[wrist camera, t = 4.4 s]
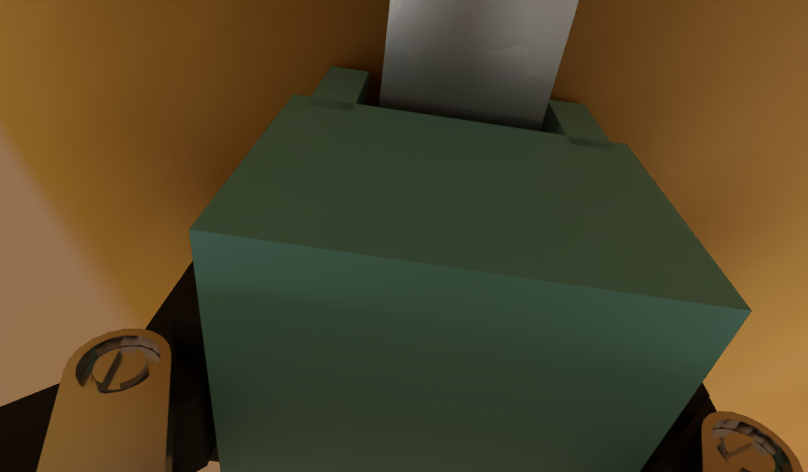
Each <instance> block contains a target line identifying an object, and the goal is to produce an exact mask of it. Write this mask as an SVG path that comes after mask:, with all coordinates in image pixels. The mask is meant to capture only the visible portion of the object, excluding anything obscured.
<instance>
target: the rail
mask: <svg viewBox="0 0 808 472" xmlns="http://www.w3.org/2000/svg"><path fill="white" fill-rule="evenodd" d="M578 2H579V0H390V6H389V15H388V25H387V34H386V43H385V53H384V62H383V72H382V81H381V91H380V100H379V107H380V108H387V109H394V110H400V111H407V112H414V113H420V114H427V115H434V116H440V117H447V118H454V119H460V120H467V121H474V122H480V123H487V124H494V125H500V126H507V127H514V128H520V129H527V130H534V131H540V129H541V126H542V122H543V119H544V116H545V112H546V109H547V106H548V102H549V99H550V96H551V92H552V89H553V86H554V82H555V79H556V76H557V72H558V69H559V65H560V62H561V59H562V55H563V52H564V49H565V45H566V42H567V39H568V35H569V32H570V29H571V25H572V22H573V19H574V15H575V12H576V9H577V5H578Z"/></svg>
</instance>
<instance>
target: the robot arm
mask: <svg viewBox="0 0 808 472" xmlns="http://www.w3.org/2000/svg"><path fill="white" fill-rule="evenodd" d="M209 461H217V462H219V456H218V448H217V441H216V433H215V425H214V418H213V410H212V402H211V395H210V387H209V379H208V372H207V364H206V356H205V348H204V341H203V333H202V325H201V318H200V310H199V302H198V295H197V287H196V279H195V272H194V264H193V261H192V263H191V264H190V265H189V267H188V268H187V270H186V271H185V273H184V274H183V275H182V277H181V278H180V280H179V281H178V283H177V284H176V286H175V287H174V288H173V290H172V291H171V293H170V294H169V296H168V297H167V298H166V300H165V301H164V303H163V304H162V306H161V307H160V308H159V310H158V311H157V313H156V314H155V316H154V317H153V318H152V320H151V321H150V323H149V324H148V326H147V327H146V328H145V330H144V329H121V330H117V331H112V332H108V333H106V334H103V335H101V336H98V337H96V338H93V339H92V340H90V341H89V342H87V343H86V344H85V345H83V346H81V347H80V348H79V349H78V350H77V351H76V352H75V353H74V354H73V355H72V356H71V357H70V358H69V360H68V362H67V364H66V366H65V368H64V370H63V374H62V378H61V381H60V383H59V384H56V385H54V386H51V387H49V388H46V389H44V390H41V391H39V392H36V393H34V394H31V395H29V396H26V397H24V398H21V399H19V400H16V401H14V402H11V403H9V404H6V405H4V406H1V407H0V472H197V471H198V470H200V469H202V468H204V467H206V466H207V464H208V462H209ZM640 472H803V470H802V467H801V465H800V462H799V460H798V459H797V457H796V456H795V454H794V453H793V452H792V450H791V449H790V447H789V446H788V445H787V444H786V443H785V442H784V441H783V440H782V439H781V438H779V437H778V436H777V435H776V434H775V433H774V432H772V431H771V430H769V429H768V428H767V427H765V426H764V425H762V424H761V423H759V422H757V421H755V420H753V419H751V418H749V417H747V416H744V415H740V414H737V413H734V412H725V411H718V412H717V411H716V409H715V407H714V405H713V403H712V402H711V400H710V398H709V394H708V392H707V390H706V388H705V386H704V384H703V383H701V384H700V386H699V387H698V389H697V390H696V392H695V393H694V395H693V396H692V397H691V399H690V400H689V402H688V403H687V405H686V406H685V407H684V409H683V410H682V412H681V413H680V415H679V416H678V417H677V419H676V420H675V422H674V423H673V425H672V426H671V428H670V429H669V430H668V432H667V433H666V435H665V436H664V438H663V439H662V440H661V442H660V443H659V445H658V446H657V448H656V449H655V450H654V452H653V453H652V455H651V456H650V458H649V459H648V461H647V462H646V463H645V465H644V466H643V468H642V469H641V471H640Z"/></svg>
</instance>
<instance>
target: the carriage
mask: <svg viewBox="0 0 808 472" xmlns="http://www.w3.org/2000/svg"><path fill="white" fill-rule="evenodd" d="M368 78H369V72H367V71H360V70H354V69H347V68H341V67H334V66H331V67H330V69H329V70H328V72H327V73H326V75H325V76H324V78H323V79H322V81H321V82H320V83H319V85H318V86H317V88H316V89H315V91H314V92H313V94H312V95H311V97H307V96H301V95H294V94H293V96H292V97H291V98H290V100H289V101H288V102H287V103H286V105H285V106H284V107H283V109H282V110H281V111H280V113H279V114H278V115H277V116H276V118H275V119H274V120H273V122H272V123H271V124H270V125H269V127H268V128H267V129H266V131H265V132H264V133H263V135H262V136H261V137H260V138H259V140H258V141H257V142H256V144H255V145H254V146H253V147H252V149H251V150H250V151H249V153H248V154H247V155H246V156H245V158H244V159H243V160H242V162H241V163H240V164H239V166H238V167H237V168H236V169H235V171H234V172H233V173H232V175H231V176H230V177H229V178H228V180H227V181H226V182H225V184H224V185H223V186H222V188H221V189H220V190H219V191H218V193H217V194H216V195H215V197H214V198H213V199H212V200H211V202H210V203H209V204H208V206H207V207H206V208H205V209H204V211H203V212H202V213H201V215H200V216H199V217H198V219H197V220H196V221H195V222H194V224H193V225H192V226H191V228H190V229H189V233H190V241H191V249H192V256H193V264H194V272H195V279H196V287H197V295H198V302H199V310H200V318H201V325H202V333H203V341H204V348H205V356H206V364H207V372H208V379H209V387H210V395H211V402H212V410H213V418H214V425H215V433H216V441H217V448H218V456H219V464H220V471H221V472H640V471H641V469H642V468H643V466H644V465H645V463H646V462H647V461H648V459H649V458H650V456H651V455H652V453H653V452H654V450H655V449H656V448H657V446H658V445H659V443H660V442H661V440H662V439H663V438H664V436H665V435H666V433H667V432H668V430H669V429H670V428H671V426H672V425H673V423H674V422H675V420H676V419H677V417H678V416H679V415H680V413H681V412H682V410H683V409H684V407H685V406H686V405H687V403H688V402H689V400H690V399H691V397H692V396H693V395H694V393H695V392H696V390H697V389H698V387H699V386H700V384H701V383H702V382H703V380H704V379H705V377H706V376H707V374H708V373H709V372H710V370H711V369H712V367H713V366H714V364H715V363H716V362H717V360H718V359H719V357H720V356H721V354H722V353H723V351H724V350H725V349H726V347H727V346H728V344H729V343H730V341H731V340H732V339H733V337H734V336H735V334H736V333H737V331H738V330H739V329H740V327H741V326H742V324H743V323H744V321H745V320H746V318H747V317H748V316H749V314H750V313H751V309H750V308H749V307H748V305H747V304H746V303H745V301H744V300H743V299H742V297H741V296H740V295H739V293H738V292H737V291H736V289H735V288H734V287H733V285H732V284H731V283H730V281H729V280H728V279H727V277H726V276H725V275H724V273H723V272H722V271H721V269H720V268H719V267H718V265H717V264H716V263H715V261H714V260H713V259H712V257H711V256H710V255H709V253H708V252H707V251H706V249H705V248H704V247H703V245H702V244H701V243H700V241H699V240H698V239H697V237H696V236H695V235H694V233H693V232H692V231H691V229H690V228H689V227H688V225H687V224H686V223H685V221H684V220H683V219H682V217H681V216H680V215H679V213H678V212H677V211H676V209H675V208H674V207H673V205H672V204H671V203H670V201H669V200H668V199H667V197H666V196H665V195H664V193H663V192H662V191H661V189H660V188H659V187H658V185H657V184H656V183H655V181H654V180H653V179H652V178H651V176H650V175H649V174H648V172H647V171H646V170H645V168H644V167H643V166H642V164H641V163H640V162H639V160H638V159H637V158H636V156H635V155H634V154H633V152H632V151H631V150H630V148H629V147H628V146H627V144H620V143H613V142H610V141H609V140H608V138H607V137H606V135H605V134H604V132H603V131H602V129H601V128H600V126H599V125H598V124H597V122H596V121H595V119H594V118H593V116H592V115H591V113H590V112H589V111H588V109H587V108H586V106H585V105H584V104H578V103H572V102H565V101H558V100H552V99H549V102H548V106H547V109H546V112H545V116H544V119H543V122H542V126H541V129H540V131H534V130H527V129H520V128H514V127H507V126H500V125H494V124H487V123H480V122H474V121H467V120H460V119H454V118H447V117H440V116H434V115H427V114H420V113H414V112H407V111H400V110H394V109H387V108H380V107H374V106H367V105H366V100H367V89H368Z"/></svg>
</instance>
